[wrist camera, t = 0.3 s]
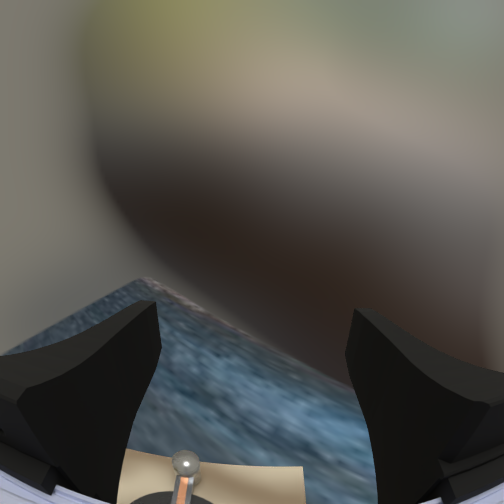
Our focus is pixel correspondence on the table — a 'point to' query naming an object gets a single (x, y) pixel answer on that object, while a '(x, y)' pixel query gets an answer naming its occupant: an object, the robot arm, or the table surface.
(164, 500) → the dial
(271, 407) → the table surface
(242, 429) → the table surface
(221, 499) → the base plate
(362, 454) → the table surface
